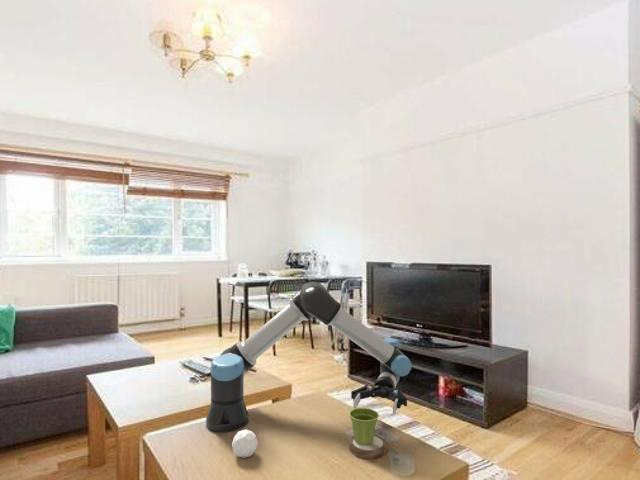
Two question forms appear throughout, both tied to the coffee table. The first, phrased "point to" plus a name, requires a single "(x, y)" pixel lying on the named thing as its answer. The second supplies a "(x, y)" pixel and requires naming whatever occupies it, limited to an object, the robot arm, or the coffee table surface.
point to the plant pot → (363, 425)
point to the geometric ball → (244, 443)
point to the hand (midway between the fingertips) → (374, 407)
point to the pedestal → (369, 448)
